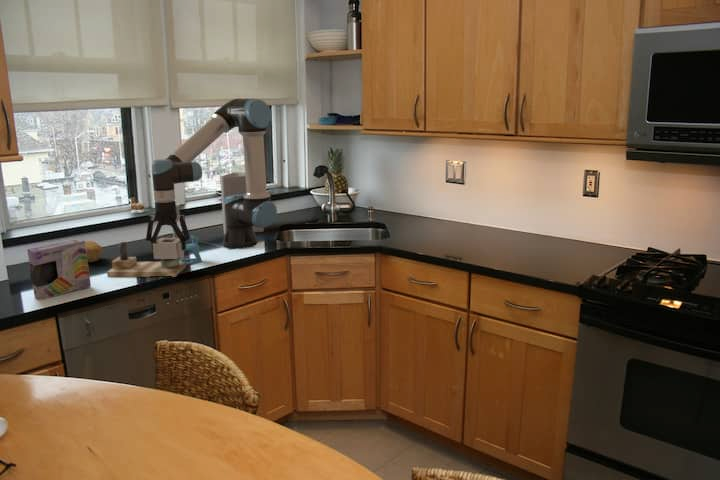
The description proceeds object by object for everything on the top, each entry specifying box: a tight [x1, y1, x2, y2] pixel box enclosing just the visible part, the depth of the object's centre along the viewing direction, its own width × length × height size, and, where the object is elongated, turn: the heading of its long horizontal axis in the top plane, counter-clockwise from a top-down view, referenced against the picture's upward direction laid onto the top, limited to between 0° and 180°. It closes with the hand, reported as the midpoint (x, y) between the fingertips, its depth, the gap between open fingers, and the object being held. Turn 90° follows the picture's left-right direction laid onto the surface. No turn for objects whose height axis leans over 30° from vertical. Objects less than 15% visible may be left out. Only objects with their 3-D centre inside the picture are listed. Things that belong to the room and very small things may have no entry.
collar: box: [152, 237, 186, 260], centre depth 241 cm, size 9×9×6 cm
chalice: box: [171, 202, 181, 238], centre depth 286 cm, size 7×7×18 cm
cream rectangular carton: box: [220, 172, 265, 235], centre depth 310 cm, size 19×15×28 cm
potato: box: [85, 240, 104, 263], centre depth 258 cm, size 10×14×8 cm
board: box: [106, 241, 187, 278], centre depth 242 cm, size 26×14×12 cm, turn 88°
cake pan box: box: [27, 238, 92, 301], centre depth 217 cm, size 19×5×18 cm, turn 138°
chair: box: [179, 233, 203, 266], centre depth 255 cm, size 8×8×12 cm
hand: (169, 258), depth 242 cm, fingers closed on collar, 9 cm apart
